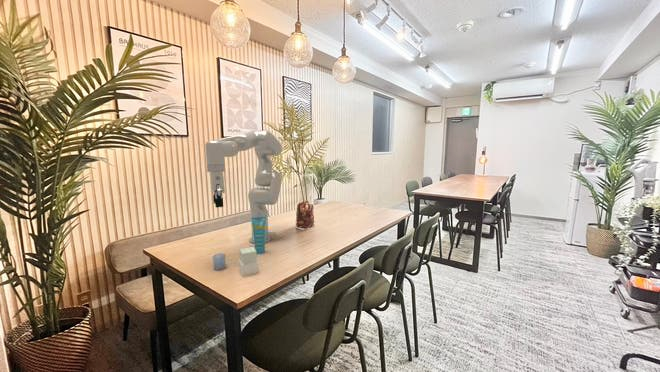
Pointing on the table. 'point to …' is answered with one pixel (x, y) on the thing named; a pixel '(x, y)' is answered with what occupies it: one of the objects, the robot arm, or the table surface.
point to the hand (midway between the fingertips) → (218, 205)
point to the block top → (248, 255)
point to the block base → (248, 268)
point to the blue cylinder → (219, 262)
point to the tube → (259, 233)
